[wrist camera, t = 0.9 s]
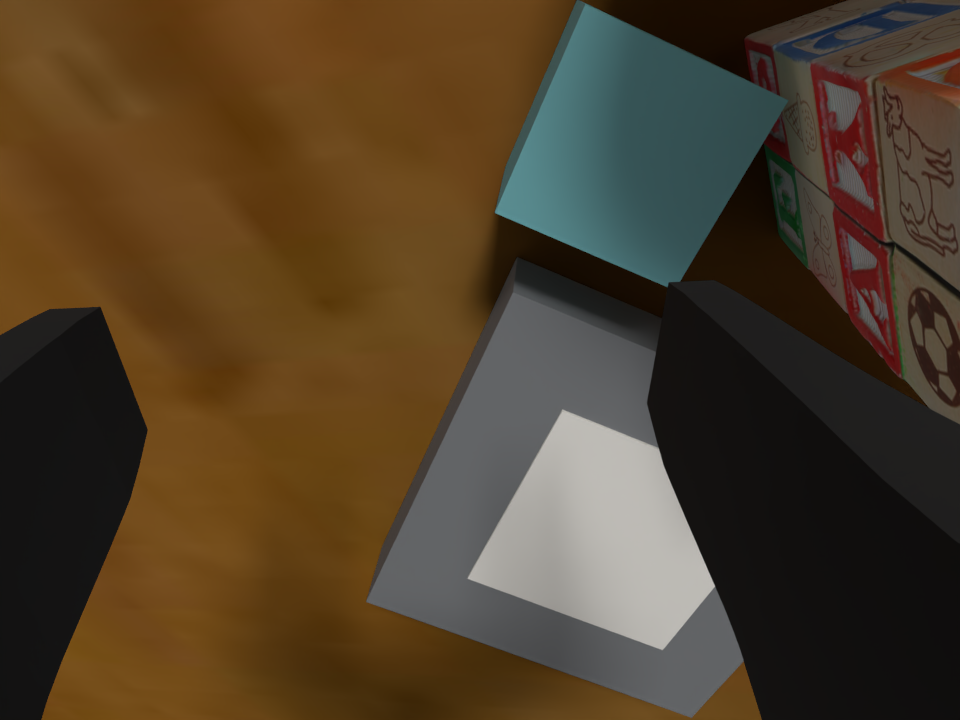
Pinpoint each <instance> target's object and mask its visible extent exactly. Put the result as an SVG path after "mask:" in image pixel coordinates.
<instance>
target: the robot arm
mask: <svg viewBox="0 0 960 720" xmlns="http://www.w3.org/2000/svg"><path fill="white" fill-rule="evenodd" d="M647 406H648V410H649V413H650V417H651V421H652V425H653V429H654V433H655V437H656V441H657V444H658V448H659V451H660V455H661V458H662V461H663V465H664V468H665V470H666V473H667V475H668V478H669V480H670V483H671V485H672V487H673V490H674V492H675V494H676V497H677V499H678V502H679V504H680V506H681V509H682V511H683V513H684V516H685V518H686V520H687V523H688V525H689V527H690V530H691V532H692V534H693V537H694V539H695V541H696V544H697V546H698V548H699V551H700V553H701V555H702V557H703V560H704V562H705V564H706V567H707V569H708V571H709V574H710V576H711V578H712V581H713V583H714V585H715V588H716V590H717V592H718V595H719V597H720V599H721V601H722V604H723V606H724V608H725V611H726V613H727V616H728V619H729V621H730V624H731V626H732V629H733V632H734V634H735V637H736V640H737V642H738V645H739V648H740V651H741V654H742V657H743V660H744V663H745V667H746V670H747V673H748V676H749V679H750V683H751V686H752V689H753V692H754V695H755V699H756V702H757V705H758V708H759V711H760V714H761V718H762V720H960V424H958V423H956V422H954V421H952V420H951V419H949V418H947V417H945V416H943V415H941V414H939V413H937V412H935V411H933V410H931V409H930V408H928V407H926V406H924V405H922V404H921V403H919V402H917V401H915V400H913V399H912V398H910V397H908V396H906V395H904V394H903V393H901V392H899V391H897V390H895V389H894V388H892V387H890V386H888V385H886V384H885V383H883V382H881V381H879V380H878V379H876V378H874V377H873V376H871V375H869V374H868V373H866V372H864V371H862V370H861V369H859V368H857V367H856V366H854V365H852V364H851V363H849V362H847V361H846V360H844V359H842V358H841V357H839V356H838V355H836V354H834V353H833V352H831V351H829V350H828V349H826V348H825V347H823V346H821V345H820V344H818V343H817V342H815V341H813V340H812V339H810V338H809V337H807V336H806V335H804V334H802V333H801V332H799V331H798V330H796V329H795V328H793V327H791V326H790V325H788V324H787V323H785V322H784V321H782V320H780V319H779V318H777V317H776V316H774V315H773V314H771V313H769V312H768V311H766V310H765V309H763V308H762V307H760V306H758V305H757V304H755V303H754V302H752V301H750V300H749V299H747V298H746V297H744V296H742V295H741V294H739V293H737V292H735V291H734V290H732V289H730V288H728V287H727V286H725V285H723V284H721V283H719V282H717V281H715V280H709V281H686V282H668V288H667V294H666V299H665V305H664V310H663V316H662V321H661V327H660V332H659V338H658V344H657V349H656V355H655V360H654V366H653V371H652V377H651V382H650V388H649V393H648V399H647ZM146 435H147V427H146V424H145V422H144V419H143V417H142V414H141V411H140V409H139V406H138V404H137V401H136V398H135V396H134V393H133V391H132V388H131V385H130V383H129V380H128V378H127V375H126V372H125V370H124V367H123V365H122V362H121V359H120V357H119V354H118V352H117V349H116V346H115V344H114V341H113V339H112V336H111V333H110V331H109V328H108V326H107V323H106V320H105V318H104V315H103V313H102V310H101V307H90V308H67V309H49V310H47V311H45V312H43V313H41V314H39V315H37V316H35V317H33V318H31V319H29V320H27V321H25V322H23V323H21V324H20V325H18V326H16V327H14V328H12V329H11V330H9V331H7V332H5V333H4V334H2V335H0V720H41V718H42V715H43V712H44V709H45V705H46V702H47V699H48V696H49V694H50V691H51V688H52V686H53V683H54V680H55V678H56V675H57V672H58V670H59V667H60V664H61V662H62V659H63V657H64V655H65V652H66V650H67V648H68V645H69V643H70V640H71V638H72V636H73V633H74V631H75V629H76V626H77V624H78V622H79V619H80V617H81V615H82V612H83V610H84V608H85V605H86V603H87V601H88V598H89V596H90V594H91V591H92V589H93V587H94V584H95V582H96V580H97V577H98V575H99V573H100V570H101V568H102V566H103V563H104V561H105V559H106V556H107V554H108V552H109V549H110V547H111V544H112V542H113V540H114V537H115V535H116V532H117V530H118V527H119V525H120V523H121V520H122V518H123V515H124V513H125V510H126V508H127V505H128V503H129V500H130V498H131V494H132V490H133V487H134V483H135V480H136V476H137V472H138V469H139V465H140V460H141V456H142V452H143V447H144V443H145V439H146Z"/></svg>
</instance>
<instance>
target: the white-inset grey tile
mask: <svg viewBox="0 0 960 720" xmlns="http://www.w3.org/2000/svg"><path fill="white" fill-rule="evenodd" d="M661 321H662V318H660V317H658V316H655V315H653V314H650V313H648V312H646V311H643V310H641V309H639V308H636V307H634V306H632V305H629V304H627V303H625V302H622V301H620V300H618V299H615V298H613V297H610V296H608V295H606V294H603V293H601V292H599V291H596V290H594V289H592V288H589V287H587V286H585V285H582V284H580V283H577V282H575V281H573V280H570V279H568V278H566V277H563V276H561V275H559V274H556V273H554V272H552V271H549V270H547V269H545V268H542V267H540V266H537V265H535V264H533V263H530V262H528V261H526V260H523V259H521V258H519V257H517V258H516V260H515V262H514V265H513V267H512V269H511V271H510V273H509V275H508V277H507V280H506V282H505V284H504V286H503V288H502V290H501V293H500V295H499V297H498V299H497V301H496V303H495V305H494V308H493V310H492V312H491V314H490V316H489V318H488V320H487V323H486V325H485V327H484V329H483V331H482V333H481V335H480V338H479V340H478V342H477V344H476V346H475V348H474V351H473V353H472V355H471V357H470V359H469V361H468V363H467V366H466V368H465V370H464V372H463V374H462V376H461V378H460V381H459V383H458V385H457V387H456V389H455V391H454V393H453V396H452V398H451V400H450V402H449V404H448V406H447V409H446V411H445V413H444V415H443V417H442V419H441V421H440V424H439V426H438V428H437V430H436V432H435V434H434V436H433V439H432V441H431V443H430V445H429V447H428V449H427V452H426V454H425V456H424V458H423V460H422V462H421V464H420V467H419V469H418V471H417V473H416V475H415V477H414V479H413V482H412V484H411V486H410V488H409V490H408V492H407V494H406V497H405V499H404V501H403V503H402V505H401V507H400V510H399V512H398V514H397V516H396V518H395V520H394V522H393V525H392V527H391V529H390V531H389V533H388V535H387V537H386V540H385V542H384V544H383V546H382V549H381V553H380V556H379V559H378V563H377V566H376V570H375V573H374V576H373V580H372V583H371V587H370V590H369V594H368V597H367V600H366V602H368V603H371V604H374V605H377V606H379V607H382V608H385V609H388V610H391V611H393V612H396V613H399V614H402V615H405V616H408V617H410V618H413V619H416V620H419V621H422V622H424V623H427V624H430V625H433V626H436V627H438V628H441V629H444V630H447V631H450V632H452V633H455V634H458V635H461V636H464V637H466V638H469V639H472V640H475V641H478V642H481V643H483V644H486V645H489V646H492V647H495V648H497V649H500V650H503V651H506V652H509V653H511V654H514V655H517V656H520V657H523V658H525V659H528V660H531V661H534V662H537V663H540V664H542V665H545V666H548V667H551V668H554V669H556V670H559V671H562V672H565V673H568V674H570V675H573V676H576V677H579V678H582V679H584V680H587V681H590V682H593V683H596V684H598V685H601V686H604V687H607V688H610V689H613V690H615V691H618V692H621V693H624V694H627V695H629V696H632V697H635V698H638V699H641V700H643V701H646V702H649V703H652V704H655V705H657V706H660V707H663V708H666V709H669V710H672V711H674V712H677V713H680V714H683V715H686V716H688V717H691V718H692V716H693V715H694V714H695V713H696V712H697V711H698V710H699V709H700V708H701V707H702V706H703V705H704V703H705V702H706V701H707V700H708V699H709V698H710V697H711V696H712V695H713V694H714V693H715V691H716V690H717V689H718V688H719V687H720V686H721V685H722V684H723V683H724V682H725V681H726V680H727V678H728V677H729V676H730V675H731V674H732V673H733V672H734V671H735V670H736V669H737V668H738V666H739V665H740V664H741V663H742V662H743V661H744V660H743V657H742V654H741V651H740V648H739V645H738V642H737V640H736V637H735V634H734V632H733V629H732V626H731V624H730V621H729V619H728V616H727V613H726V611H725V608H724V606H723V604H722V601H721V599H720V597H719V595H718V592H717V590H716V588H715V585H714V583H713V581H712V578H711V576H710V574H709V571H708V569H707V567H706V564H705V562H704V560H703V557H702V555H701V553H700V551H699V548H698V546H697V544H696V541H695V539H694V537H693V534H692V532H691V530H690V527H689V525H688V523H687V520H686V518H685V516H684V513H683V511H682V509H681V506H680V504H679V502H678V499H677V497H676V494H675V492H674V490H673V487H672V485H671V483H670V480H669V478H668V475H667V473H666V470H665V468H664V465H663V461H662V458H661V455H660V451H659V448H658V444H657V441H656V437H655V433H654V429H653V425H652V421H651V417H650V413H649V410H648V406H647V399H648V393H649V388H650V382H651V377H652V371H653V366H654V360H655V355H656V349H657V344H658V338H659V332H660V327H661Z"/></svg>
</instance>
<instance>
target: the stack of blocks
mask: <svg viewBox="0 0 960 720" xmlns="http://www.w3.org/2000/svg"><path fill="white" fill-rule="evenodd" d="M744 43H745V49H746V55H747V61H748V67H749V73H750V79H751V82H752V83H754V84H756V85H758V86H760V87H762V88H764V89H766V90H768V91H770V92H772V93H774V94H777V95H779V96H781V97H783V98H785V99H787V100H789V101H788V102H787V104H786V106H785V107H784V109H783V111H782V112H781V114H780V116H779V117H778V119H777V121H776V122H775V124H774V126H773V127H772V129H771V131H770V132H769V134H768V136H767V137H766V139H765V141H764V142H763V143H764V148H765V153H766V159H767V165H768V171H769V177H770V184H771V190H772V196H773V202H774V208H775V214H776V219H777V226H778V233H779V236H780V237H781V239H782V240H783V241H784V242H785V244H786V245H787V246H788V247H789V249H790V250H791V251H792V252H793V253H794V254H795V255H796V257H797V258H798V259H799V260H800V261H801V262H802V263H803V264H804V265H805V267H806V268H807V269H809V270H811V271H812V273H813V274H814V275H815V276H816V278H817V279H818V280H819V281H820V283H821V284H822V285H823V286H824V288H825V289H826V290H827V291H828V292H829V294H830V295H831V296H832V297H833V298H834V300H835V301H836V302H837V303H838V304H839V305H840V307H841V308H842V309H843V310H844V311H845V312H846V313H848V314H849V317H850V319H851V322H852V323H853V324H854V326H855V327H856V328H857V329H858V331H859V332H860V333H861V334H862V336H863V337H864V338H865V339H866V340H867V341H868V342H870V343H871V345H872V346H873V348H874V349H875V351H876V352H877V353H878V355H879V356H880V357H882V358H884V360H885V361H886V363H887V365H888V366H889V367H890V368H891V369H892V371H893V372H894V373H895V374H896V375H897V376H898V377H899V378H901V379H903V380H905V381H906V382H908V383H909V385H910V386H911V387H912V388H913V389H914V391H915V392H916V393H917V394H918V395H919V396H920V398H921V399H922V400H923V401H924V402H925V404H926V405H927V406H928V407H929V408H930V409H931V410H933V411H935V412H937V413H939V414H941V415H943V416H945V417H947V418H949V419H951V420H952V421H954V422H956V423H958V424H960V0H847V1H844V2H841V3H838V4H835V5H832V6H830V7H827V8H824V9H821V10H818V11H815V12H812V13H809V14H806V15H803V16H800V17H798V18H795V19H792V20H789V21H786V22H783V23H780V24H778V25H775V26H772V27H769V28H766V29H763V30H760V31H758V32H755V33H752V34H750V35H748V36H747V37H745V39H744Z"/></svg>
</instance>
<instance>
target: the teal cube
mask: <svg viewBox="0 0 960 720" xmlns="http://www.w3.org/2000/svg"><path fill="white" fill-rule="evenodd" d="M788 101H789V100H787V99H785V98H783V97H781V96H779V95H777V94H774V93H772V92H770V91H768V90H766V89H764V88H762V87H760V86H758V85H756V84H754V83H752V82H750V81H748V80H746V79H744V78H742V77H740V76H738V75H736V74H734V73H732V72H729V71H727V70H725V69H723V68H721V67H719V66H717V65H715V64H713V63H710V62H708V61H706V60H704V59H702V58H700V57H698V56H696V55H694V54H692V53H689V52H687V51H685V50H683V49H681V48H679V47H677V46H675V45H673V44H670V43H668V42H666V41H664V40H662V39H660V38H658V37H656V36H654V35H651V34H649V33H647V32H645V31H643V30H641V29H639V28H637V27H635V26H632V25H630V24H628V23H626V22H624V21H622V20H620V19H618V18H616V17H613V16H611V15H609V14H607V13H605V12H603V11H601V10H599V9H597V8H594V7H592V6H590V5H588V4H586V3H584V2H582V1H580V0H577V1H576V3H575V6H574V8H573V10H572V13H571V15H570V17H569V20H568V22H567V24H566V27H565V29H564V31H563V34H562V36H561V38H560V41H559V43H558V45H557V48H556V50H555V52H554V55H553V57H552V59H551V62H550V64H549V66H548V69H547V71H546V73H545V76H544V78H543V80H542V83H541V85H540V87H539V90H538V92H537V94H536V97H535V99H534V101H533V104H532V106H531V108H530V111H529V113H528V116H527V118H526V120H525V123H524V125H523V127H522V130H521V132H520V134H519V137H518V139H517V141H516V144H515V146H514V148H513V151H512V153H511V155H510V158H509V160H508V162H507V165H506V167H505V171H504V175H503V180H502V184H501V188H500V193H499V197H498V201H497V206H496V210H495V213H496V214H499V215H501V216H503V217H505V218H508V219H510V220H512V221H515V222H517V223H519V224H522V225H524V226H526V227H529V228H531V229H533V230H536V231H538V232H540V233H543V234H545V235H547V236H550V237H552V238H554V239H557V240H559V241H561V242H563V243H566V244H568V245H570V246H573V247H575V248H577V249H580V250H582V251H584V252H587V253H589V254H591V255H594V256H596V257H598V258H601V259H603V260H605V261H608V262H610V263H612V264H615V265H617V266H619V267H622V268H624V269H626V270H628V271H631V272H633V273H635V274H638V275H640V276H642V277H645V278H647V279H649V280H652V281H654V282H656V283H659V284H661V285H663V286H666V287H668V282H680V281H681V279H682V277H683V276H684V274H685V272H686V271H687V269H688V267H689V266H690V264H691V262H692V261H693V259H694V257H695V256H696V254H697V252H698V251H699V249H700V247H701V246H702V244H703V242H704V241H705V239H706V237H707V236H708V234H709V232H710V231H711V229H712V227H713V226H714V224H715V222H716V221H717V219H718V217H719V216H720V214H721V212H722V211H723V209H724V207H725V206H726V204H727V202H728V201H729V199H730V197H731V196H732V194H733V192H734V191H735V189H736V187H737V186H738V184H739V182H740V181H741V179H742V177H743V176H744V174H745V172H746V171H747V169H748V167H749V166H750V164H751V162H752V161H753V159H754V157H755V156H756V154H757V152H758V151H759V149H760V147H761V146H762V144H763V142H764V141H765V139H766V137H767V136H768V134H769V132H770V131H771V129H772V127H773V126H774V124H775V122H776V121H777V119H778V117H779V116H780V114H781V112H782V111H783V109H784V107H785V106H786V104H787V102H788Z"/></svg>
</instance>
